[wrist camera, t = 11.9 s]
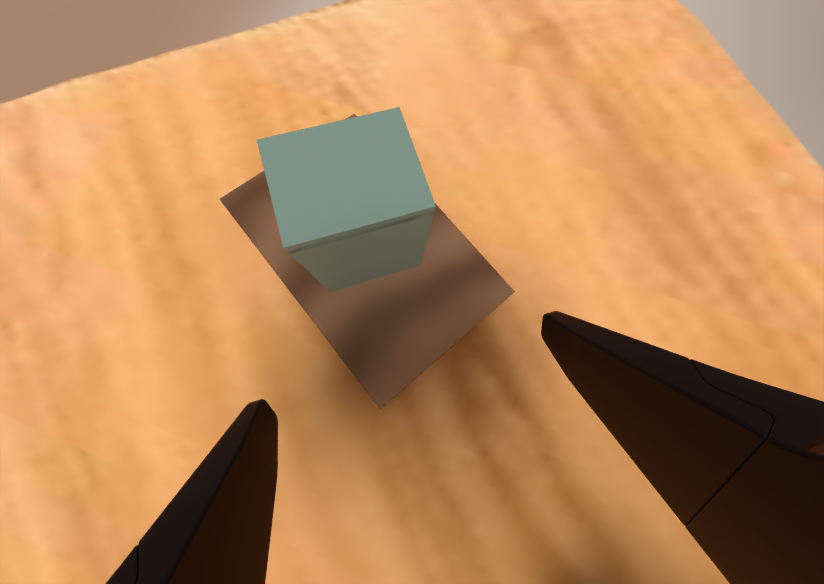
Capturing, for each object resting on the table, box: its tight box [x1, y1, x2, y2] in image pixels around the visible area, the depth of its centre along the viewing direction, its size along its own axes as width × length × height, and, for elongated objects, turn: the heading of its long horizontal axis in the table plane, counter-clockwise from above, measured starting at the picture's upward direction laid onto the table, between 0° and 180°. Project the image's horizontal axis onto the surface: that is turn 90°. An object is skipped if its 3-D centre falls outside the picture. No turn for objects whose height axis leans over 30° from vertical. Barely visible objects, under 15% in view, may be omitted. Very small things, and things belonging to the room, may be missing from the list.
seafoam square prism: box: [257, 107, 436, 292], centre depth 18 cm, size 6×7×9 cm
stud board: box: [220, 114, 515, 408], centre depth 21 cm, size 20×13×5 cm, turn 40°
